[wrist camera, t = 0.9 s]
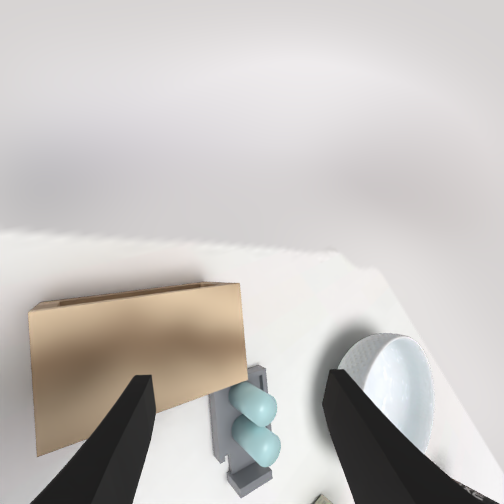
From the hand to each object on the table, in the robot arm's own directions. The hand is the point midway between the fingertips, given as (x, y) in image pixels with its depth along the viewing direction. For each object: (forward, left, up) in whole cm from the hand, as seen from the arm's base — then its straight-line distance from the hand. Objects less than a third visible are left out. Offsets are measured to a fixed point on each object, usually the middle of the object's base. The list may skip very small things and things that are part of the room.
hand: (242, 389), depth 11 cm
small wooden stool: (0, +1, -16) cm, 16 cm away
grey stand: (-11, -8, -16) cm, 21 cm away
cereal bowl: (-14, -26, -16) cm, 33 cm away
